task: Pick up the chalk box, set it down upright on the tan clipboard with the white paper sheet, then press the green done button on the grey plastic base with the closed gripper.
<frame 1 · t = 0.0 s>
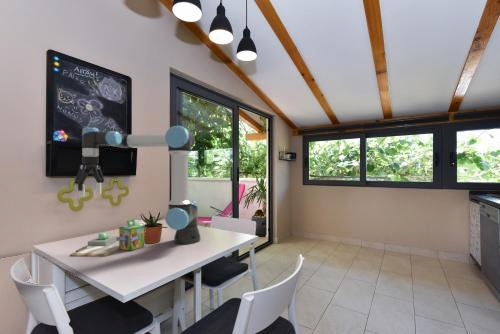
hand: (90, 195, 134), 28 cm above the table, fingers open, 13 cm apart
mug: (137, 236, 155), on the table
chalk box: (131, 248, 133), on the table
button base: (102, 244, 139), on the table
done button: (102, 237, 139), point 4 cm above the table, slide at 0.0 cm
clipboard: (96, 251, 127), on the table
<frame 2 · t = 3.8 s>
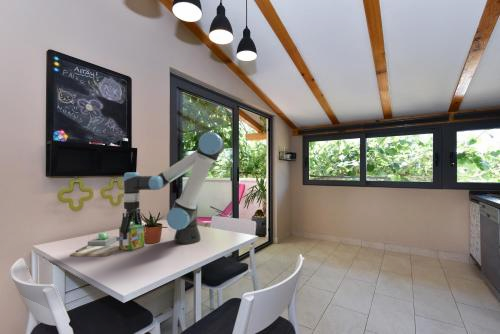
hand: (131, 241, 133), 3 cm above the table, fingers closed on chalk box, 11 cm apart
chalk box: (131, 248, 133), on the table, touching gripper
everything else where it was.
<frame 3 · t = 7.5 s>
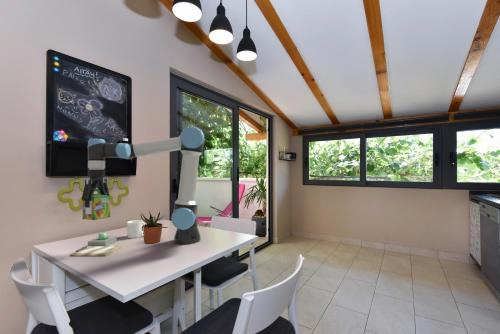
hand: (96, 212, 127), 20 cm above the table, fingers closed on chalk box, 11 cm apart
chalk box: (96, 218, 127), point 17 cm above the table, touching gripper
everything else where it was.
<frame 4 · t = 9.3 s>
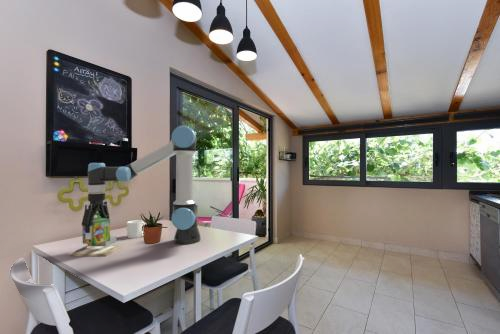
hand: (96, 235, 127), 8 cm above the table, fingers closed on chalk box, 11 cm apart
chalk box: (96, 242, 127), point 5 cm above the table, touching gripper
everything else where it was.
when the fingers open (5 cm above the table, at t = 11.1 s): chalk box stays where it is, resting on clipboard.
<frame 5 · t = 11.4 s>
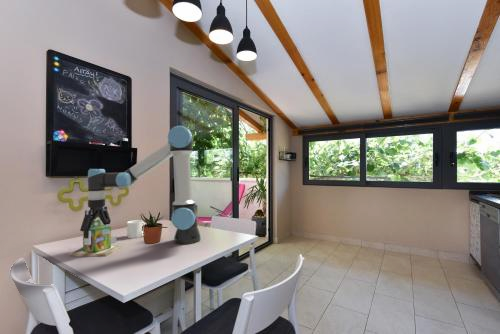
hand: (96, 240, 127), 6 cm above the table, fingers open, 13 cm apart
chalk box: (97, 249, 127), point 1 cm above the table, touching clipboard
everything else where it was.
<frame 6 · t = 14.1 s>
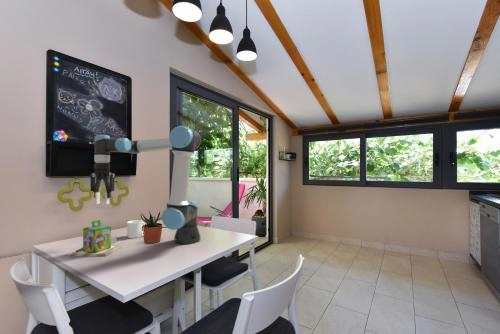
hand: (102, 203, 139), 23 cm above the table, fingers open, 5 cm apart
nothing on the table moved.
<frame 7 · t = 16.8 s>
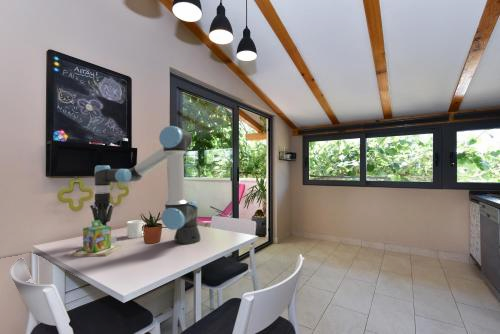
hand: (102, 234, 139), 5 cm above the table, fingers closed
done button: (102, 238, 139), point 3 cm above the table, slide at 0.9 cm, touching gripper
everything else where it was.
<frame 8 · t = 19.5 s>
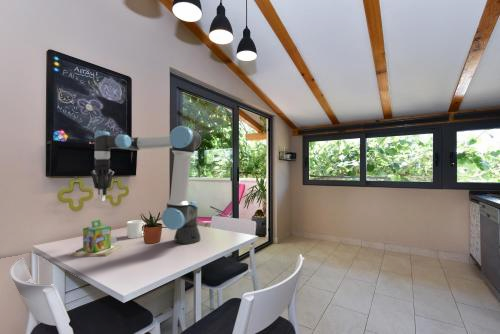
hand: (102, 200, 139), 24 cm above the table, fingers closed
done button: (102, 238, 139), point 3 cm above the table, slide at 1.0 cm
everything else where it was.
at the end: chalk box inside the target area on the clipboard (0.2 cm from its centre), point 0.8 cm above the clipboard's base; chalk box tilted 0°; done button slide at 1.0 cm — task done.
